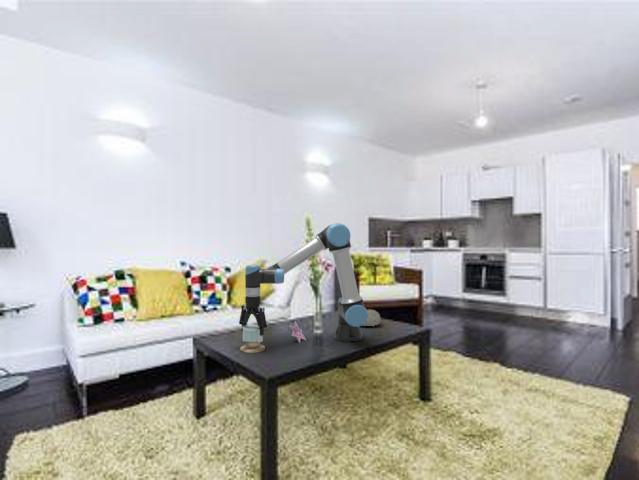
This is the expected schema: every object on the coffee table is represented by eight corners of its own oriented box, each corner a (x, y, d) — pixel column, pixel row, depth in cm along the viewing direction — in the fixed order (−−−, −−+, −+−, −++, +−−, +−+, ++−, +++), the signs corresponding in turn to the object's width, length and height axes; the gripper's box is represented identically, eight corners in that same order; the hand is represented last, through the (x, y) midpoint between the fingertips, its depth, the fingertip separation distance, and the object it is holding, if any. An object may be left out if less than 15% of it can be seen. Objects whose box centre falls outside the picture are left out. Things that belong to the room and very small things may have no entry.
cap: (259, 336, 192) (259, 324, 192) (263, 340, 184) (264, 328, 184) (241, 338, 188) (241, 326, 188) (246, 342, 180) (246, 330, 180)
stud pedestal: (269, 348, 187) (269, 330, 187) (253, 354, 177) (253, 335, 177) (252, 344, 194) (252, 327, 194) (235, 350, 184) (235, 332, 184)
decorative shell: (353, 328, 231) (353, 312, 231) (352, 322, 248) (352, 307, 248) (382, 328, 230) (382, 312, 230) (378, 322, 248) (378, 307, 248)
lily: (288, 346, 194) (297, 331, 193) (278, 333, 203) (286, 319, 202) (304, 349, 202) (313, 334, 201) (294, 336, 211) (302, 322, 210)
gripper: (231, 294, 189) (231, 338, 189) (264, 298, 177) (264, 345, 177) (242, 292, 195) (242, 335, 195) (274, 296, 183) (274, 341, 183)
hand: (252, 340), depth 186 cm, fingers closed on cap, 9 cm apart
